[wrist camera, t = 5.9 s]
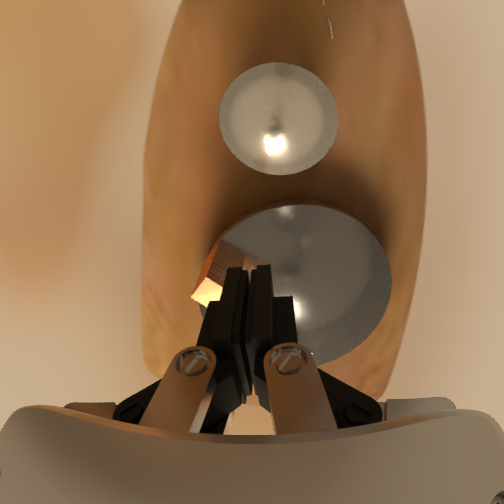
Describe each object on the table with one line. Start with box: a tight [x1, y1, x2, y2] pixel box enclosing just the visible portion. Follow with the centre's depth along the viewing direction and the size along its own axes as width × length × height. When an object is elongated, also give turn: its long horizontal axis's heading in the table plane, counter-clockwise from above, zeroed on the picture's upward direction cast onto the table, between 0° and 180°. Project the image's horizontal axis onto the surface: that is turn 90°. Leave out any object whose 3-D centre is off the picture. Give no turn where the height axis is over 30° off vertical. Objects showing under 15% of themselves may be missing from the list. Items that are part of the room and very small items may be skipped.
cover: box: [219, 62, 338, 175], centre depth 15 cm, size 6×6×6 cm
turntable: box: [191, 198, 392, 366], centre depth 19 cm, size 15×15×7 cm
